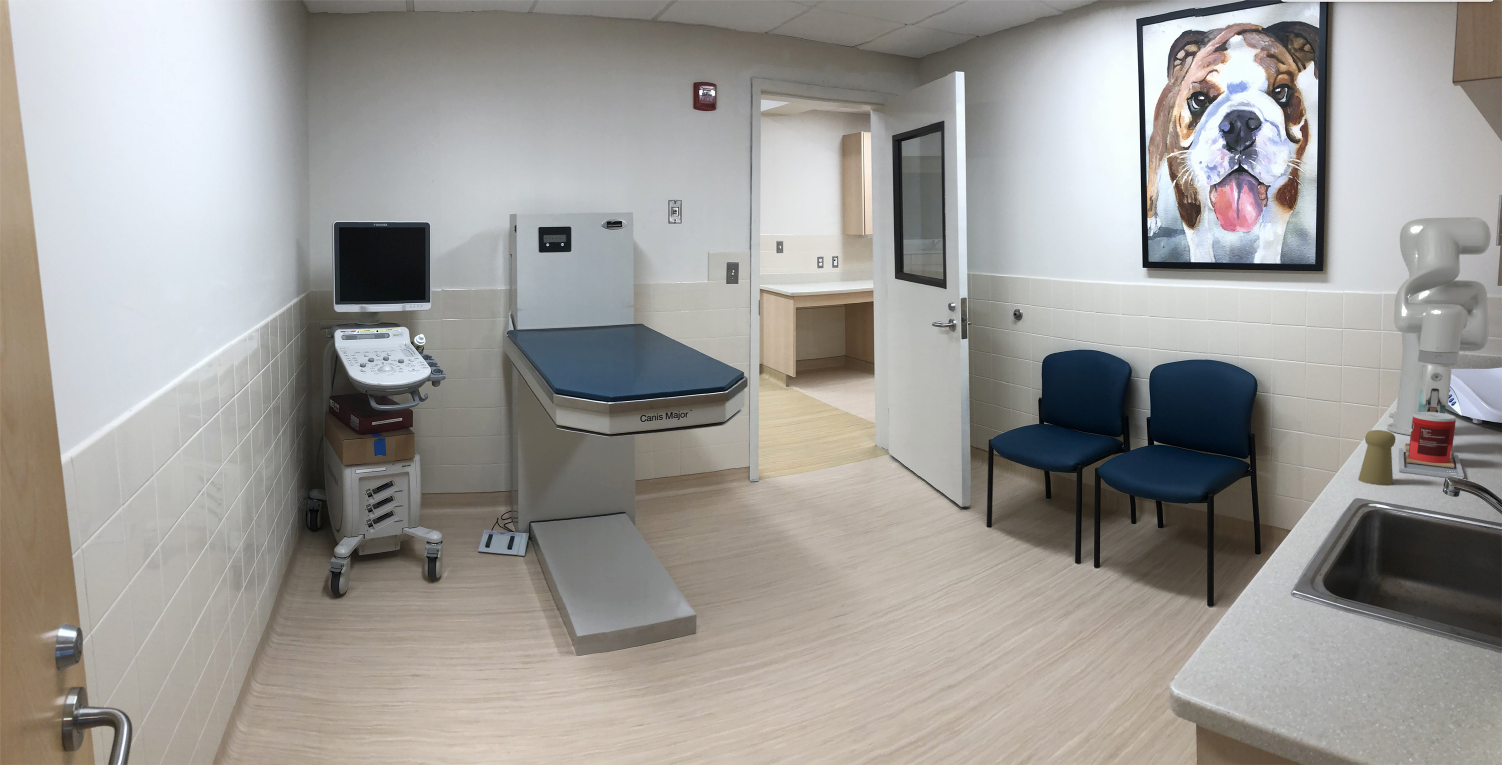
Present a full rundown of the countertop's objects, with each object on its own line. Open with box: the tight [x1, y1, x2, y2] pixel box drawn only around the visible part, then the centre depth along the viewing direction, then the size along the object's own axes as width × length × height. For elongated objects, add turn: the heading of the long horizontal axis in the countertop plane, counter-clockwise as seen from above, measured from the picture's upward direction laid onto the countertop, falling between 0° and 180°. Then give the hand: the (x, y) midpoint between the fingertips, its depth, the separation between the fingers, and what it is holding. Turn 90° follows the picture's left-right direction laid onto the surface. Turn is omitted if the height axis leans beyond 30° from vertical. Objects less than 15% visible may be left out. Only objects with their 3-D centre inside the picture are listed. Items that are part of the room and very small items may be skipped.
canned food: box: [1408, 412, 1457, 466], centre depth 196 cm, size 8×8×11 cm
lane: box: [1398, 448, 1465, 479], centre depth 195 cm, size 22×11×1 cm, turn 143°
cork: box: [1358, 429, 1396, 486], centre depth 182 cm, size 6×6×11 cm
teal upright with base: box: [1404, 390, 1454, 468], centre depth 200 cm, size 21×8×14 cm, turn 143°
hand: (1428, 431), depth 208 cm, fingers open, 5 cm apart
